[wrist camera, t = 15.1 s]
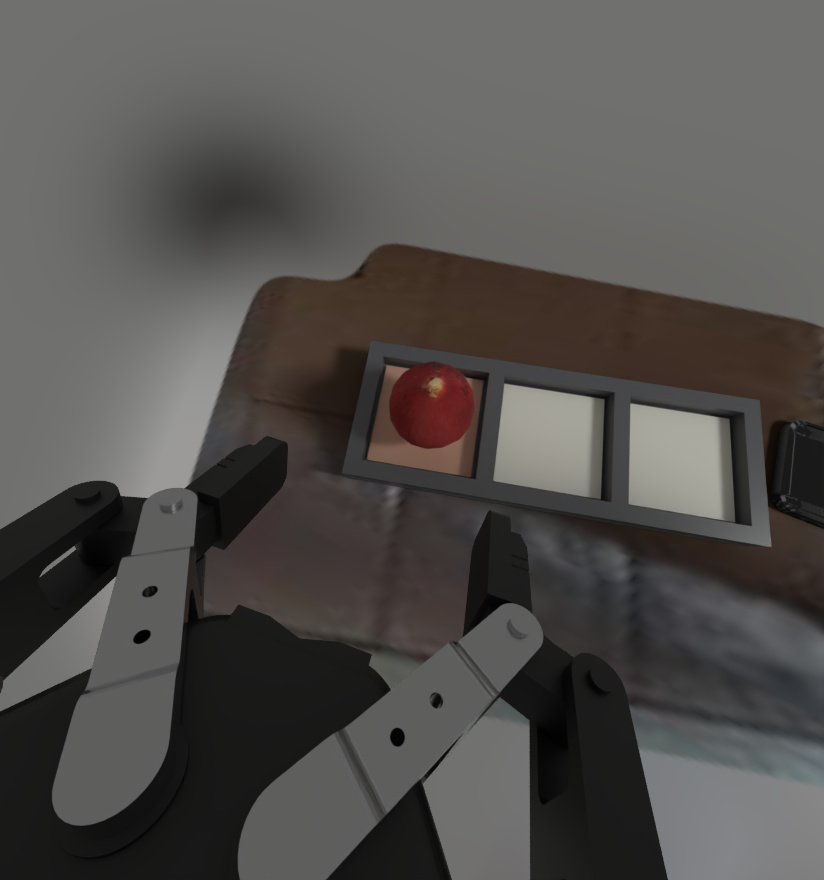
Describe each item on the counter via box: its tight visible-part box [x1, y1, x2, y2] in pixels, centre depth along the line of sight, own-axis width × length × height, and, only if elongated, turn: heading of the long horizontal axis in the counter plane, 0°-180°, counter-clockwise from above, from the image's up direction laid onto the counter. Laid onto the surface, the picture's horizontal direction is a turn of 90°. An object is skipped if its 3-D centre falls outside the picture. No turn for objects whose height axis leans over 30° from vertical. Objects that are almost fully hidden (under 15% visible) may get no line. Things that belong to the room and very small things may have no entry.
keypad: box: [342, 341, 771, 547], centre depth 27 cm, size 30×11×3 cm, turn 80°
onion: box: [389, 361, 475, 449], centre depth 23 cm, size 6×6×8 cm
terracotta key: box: [367, 365, 483, 478], centre depth 27 cm, size 8×8×1 cm
